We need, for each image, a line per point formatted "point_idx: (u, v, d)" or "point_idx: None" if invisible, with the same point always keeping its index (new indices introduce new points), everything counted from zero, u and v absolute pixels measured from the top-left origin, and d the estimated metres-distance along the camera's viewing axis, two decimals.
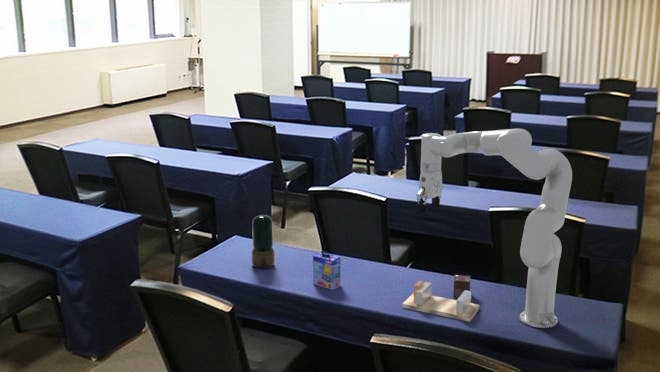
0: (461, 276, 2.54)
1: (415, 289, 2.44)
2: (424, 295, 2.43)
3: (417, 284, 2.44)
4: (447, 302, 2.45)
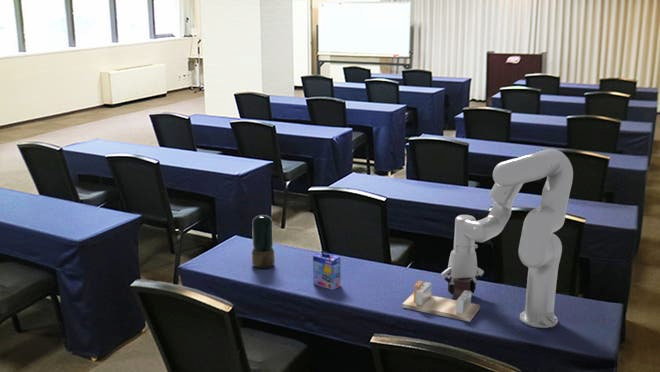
0: None
1: (415, 289, 2.44)
2: (424, 295, 2.43)
3: (417, 284, 2.44)
4: (447, 302, 2.45)
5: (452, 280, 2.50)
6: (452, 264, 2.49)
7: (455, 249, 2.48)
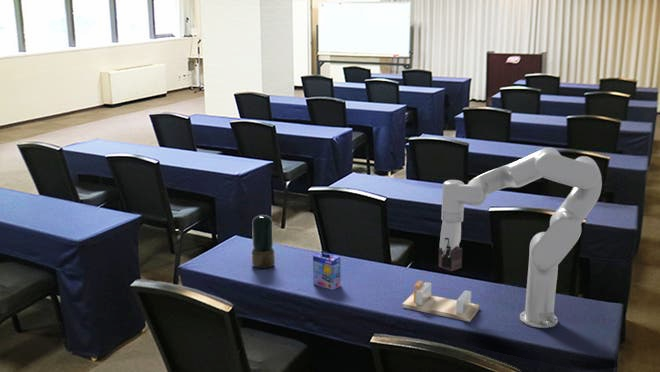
0: None
1: (415, 289, 2.44)
2: (424, 295, 2.43)
3: (417, 284, 2.44)
4: (447, 302, 2.45)
5: (450, 252, 2.32)
6: (451, 235, 2.31)
7: (451, 218, 2.30)
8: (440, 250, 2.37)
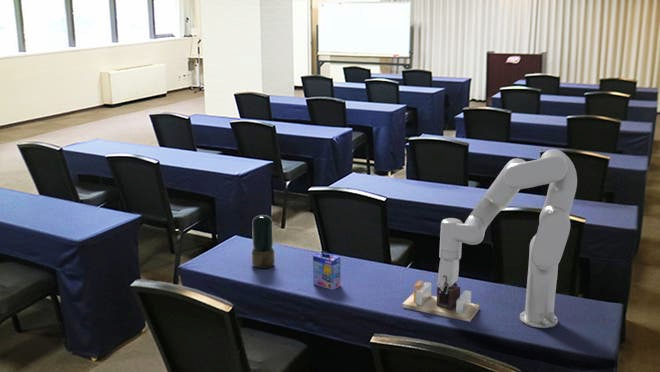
0: None
1: (415, 289, 2.44)
2: (424, 295, 2.43)
3: (417, 284, 2.44)
4: None
5: (448, 289, 2.35)
6: (449, 273, 2.34)
7: (449, 256, 2.34)
8: (438, 289, 2.40)
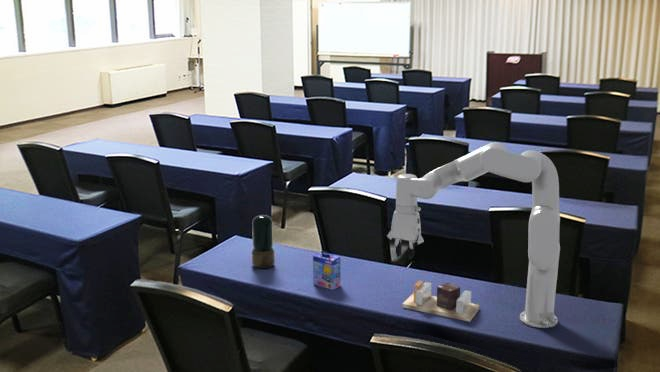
0: (444, 285, 2.41)
1: (415, 289, 2.44)
2: (424, 295, 2.43)
3: (417, 284, 2.44)
4: None
5: (396, 241, 2.44)
6: (392, 222, 2.44)
7: None
8: (438, 289, 2.40)
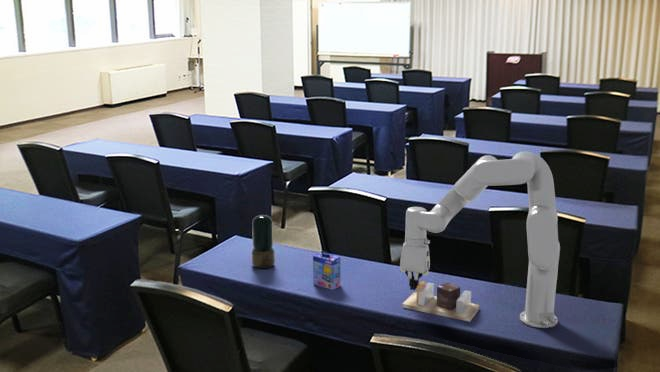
0: (444, 285, 2.41)
1: (418, 290, 2.43)
2: (427, 296, 2.42)
3: (420, 285, 2.44)
4: None
5: (408, 274, 2.45)
6: (401, 254, 2.45)
7: None
8: (438, 289, 2.40)
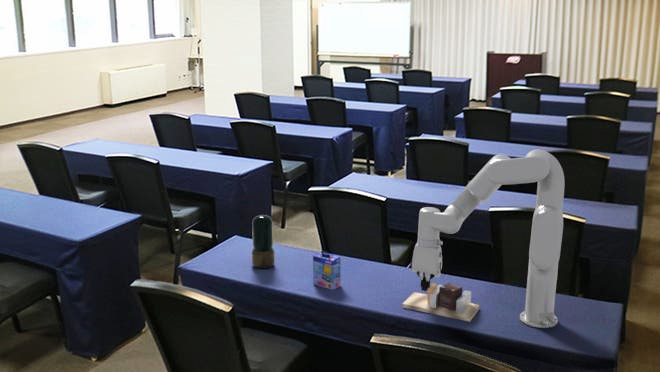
0: (446, 286, 2.41)
1: (429, 292, 2.42)
2: (438, 298, 2.40)
3: (431, 287, 2.42)
4: None
5: (420, 275, 2.43)
6: (413, 255, 2.42)
7: None
8: (441, 289, 2.40)
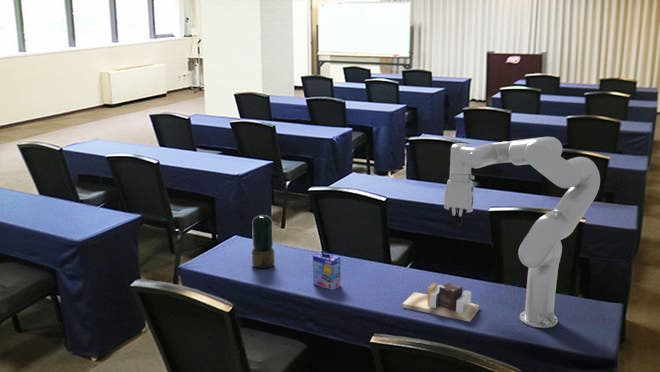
0: (446, 286, 2.41)
1: (429, 292, 2.42)
2: (438, 298, 2.40)
3: (431, 287, 2.42)
4: None
5: (452, 210, 2.48)
6: (445, 191, 2.48)
7: None
8: (441, 289, 2.40)
